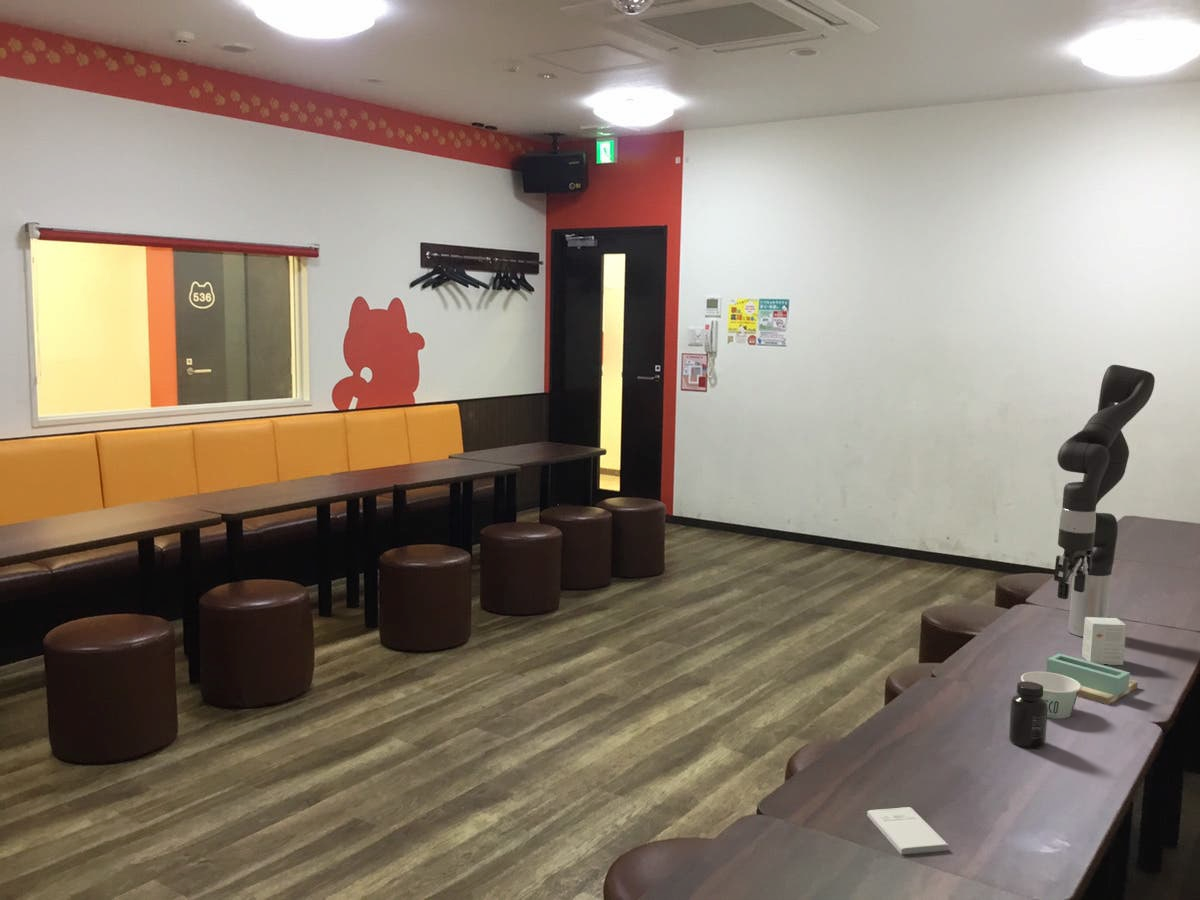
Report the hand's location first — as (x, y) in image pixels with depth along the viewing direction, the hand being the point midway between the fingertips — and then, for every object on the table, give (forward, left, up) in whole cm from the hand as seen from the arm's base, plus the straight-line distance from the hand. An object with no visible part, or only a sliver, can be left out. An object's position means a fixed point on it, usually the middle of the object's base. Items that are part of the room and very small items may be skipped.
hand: (1071, 594), depth 231 cm
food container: (+22, +7, -21) cm, 31 cm away
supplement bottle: (+42, +12, -21) cm, 48 cm away
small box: (-19, +1, -21) cm, 28 cm away
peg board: (+1, +6, -20) cm, 21 cm away
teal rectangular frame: (+3, +6, -19) cm, 20 cm away
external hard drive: (+92, +16, -21) cm, 95 cm away
